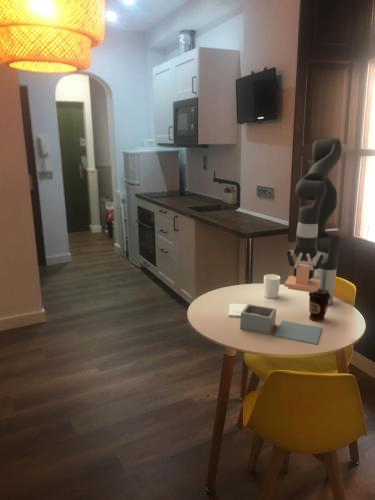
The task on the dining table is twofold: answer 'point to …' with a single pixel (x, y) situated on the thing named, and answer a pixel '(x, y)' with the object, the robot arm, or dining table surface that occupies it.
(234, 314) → the external hard drive
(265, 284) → the white cup
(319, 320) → the coffee cup
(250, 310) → the storage box
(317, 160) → the robot arm
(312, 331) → the mat
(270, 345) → the dining table surface
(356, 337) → the dining table surface
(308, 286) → the lid
